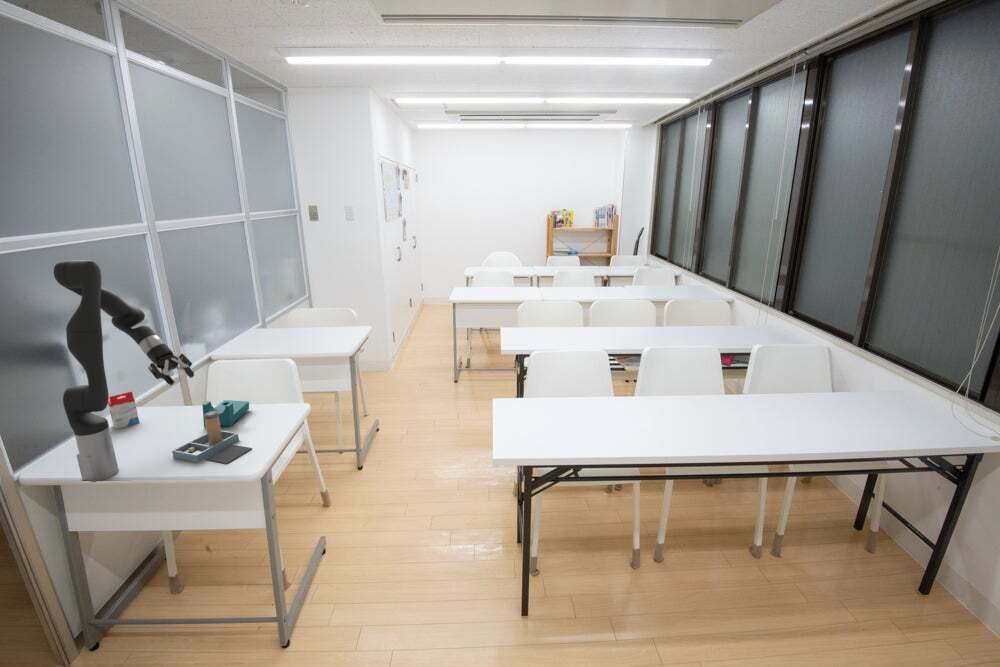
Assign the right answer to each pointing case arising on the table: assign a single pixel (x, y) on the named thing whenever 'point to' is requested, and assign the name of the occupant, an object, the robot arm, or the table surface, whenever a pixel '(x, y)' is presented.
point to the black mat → (228, 454)
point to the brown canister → (213, 427)
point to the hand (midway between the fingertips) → (183, 380)
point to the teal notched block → (227, 410)
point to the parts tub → (203, 447)
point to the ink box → (123, 410)
